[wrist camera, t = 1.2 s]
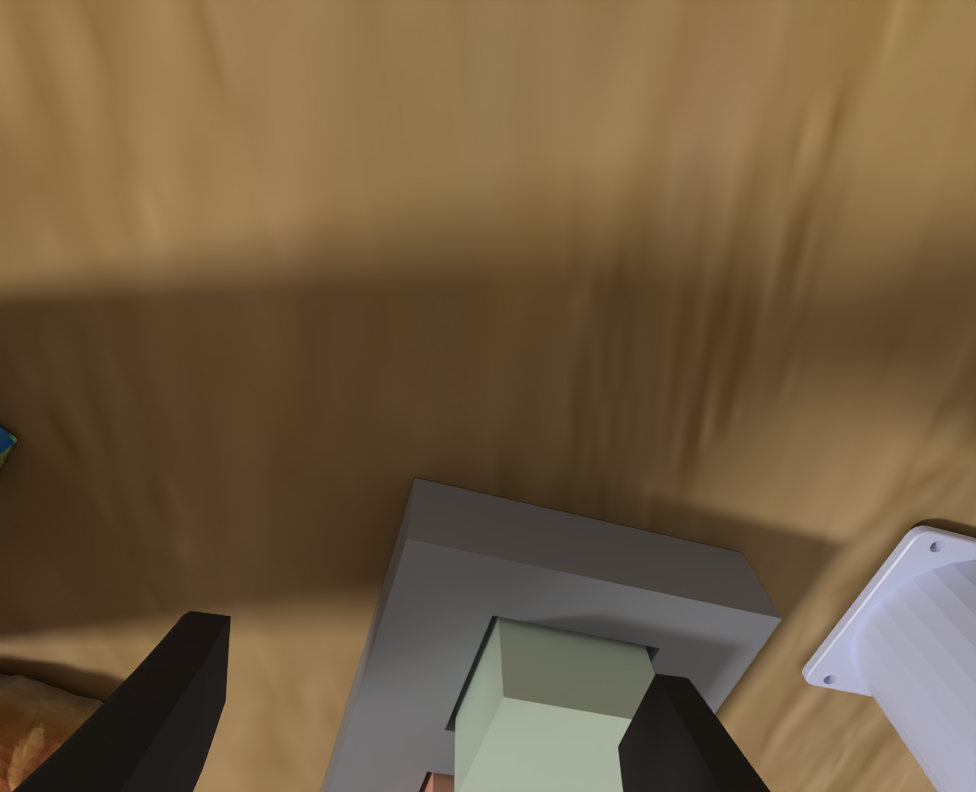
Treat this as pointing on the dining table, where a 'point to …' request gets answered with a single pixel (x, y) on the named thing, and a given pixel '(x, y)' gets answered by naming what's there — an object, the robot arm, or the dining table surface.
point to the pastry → (35, 724)
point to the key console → (527, 618)
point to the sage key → (546, 710)
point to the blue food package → (5, 445)
